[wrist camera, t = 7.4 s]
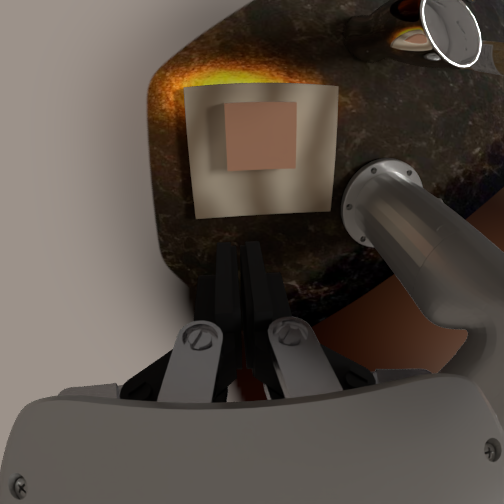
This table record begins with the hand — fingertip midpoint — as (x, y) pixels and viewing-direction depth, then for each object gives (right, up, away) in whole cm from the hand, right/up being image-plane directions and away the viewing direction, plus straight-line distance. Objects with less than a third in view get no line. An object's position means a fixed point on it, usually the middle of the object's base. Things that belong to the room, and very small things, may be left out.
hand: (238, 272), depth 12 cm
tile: (-2, +12, +16) cm, 20 cm away
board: (+2, +12, +19) cm, 22 cm away
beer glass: (+13, +25, +12) cm, 31 cm away
